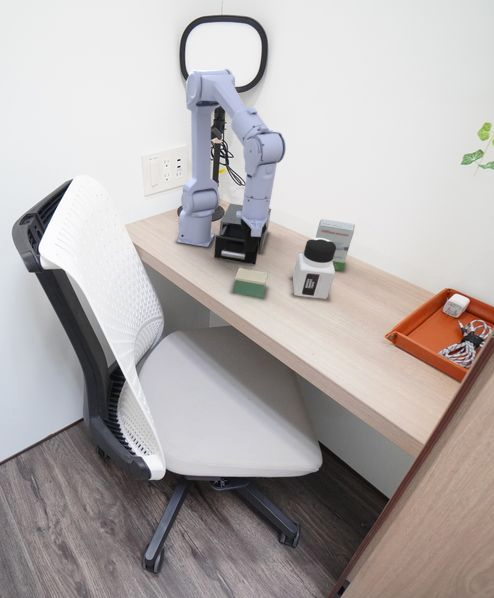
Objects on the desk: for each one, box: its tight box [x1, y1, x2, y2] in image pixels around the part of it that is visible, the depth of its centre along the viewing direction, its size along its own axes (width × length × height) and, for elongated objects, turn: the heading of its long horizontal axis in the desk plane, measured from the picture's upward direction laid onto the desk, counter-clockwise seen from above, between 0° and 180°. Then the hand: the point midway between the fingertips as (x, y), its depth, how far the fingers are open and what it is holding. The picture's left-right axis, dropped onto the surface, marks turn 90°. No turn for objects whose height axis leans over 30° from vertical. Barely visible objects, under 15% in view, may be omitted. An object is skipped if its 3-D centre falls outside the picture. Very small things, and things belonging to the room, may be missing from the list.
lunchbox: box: [233, 267, 269, 299], centre depth 87 cm, size 7×4×4 cm, turn 72°
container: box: [292, 237, 336, 300], centre depth 86 cm, size 8×8×13 cm
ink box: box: [315, 218, 355, 272], centre depth 96 cm, size 9×5×12 cm, turn 66°
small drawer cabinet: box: [218, 203, 272, 254], centre depth 108 cm, size 14×13×8 cm
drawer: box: [213, 225, 260, 266], centre depth 99 cm, size 17×11×6 cm
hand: (249, 250), depth 85 cm, fingers closed
